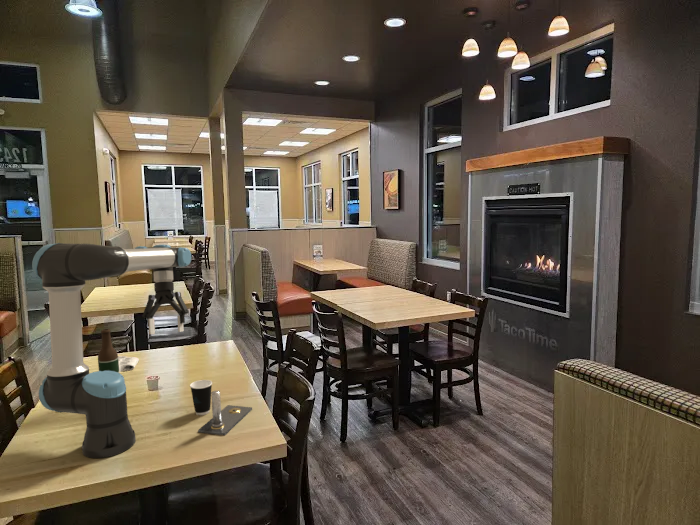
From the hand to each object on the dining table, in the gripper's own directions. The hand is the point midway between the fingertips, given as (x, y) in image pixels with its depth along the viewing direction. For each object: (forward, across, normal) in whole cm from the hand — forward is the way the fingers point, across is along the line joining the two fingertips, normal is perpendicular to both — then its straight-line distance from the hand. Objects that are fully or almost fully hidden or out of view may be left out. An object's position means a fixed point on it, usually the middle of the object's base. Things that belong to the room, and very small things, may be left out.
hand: (166, 333), depth 190 cm
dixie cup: (+30, -22, +12) cm, 39 cm away
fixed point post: (+34, -34, +22) cm, 52 cm away
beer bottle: (+20, +33, -5) cm, 39 cm away
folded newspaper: (+15, +43, -23) cm, 51 cm away
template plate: (+32, -34, +16) cm, 50 cm away
